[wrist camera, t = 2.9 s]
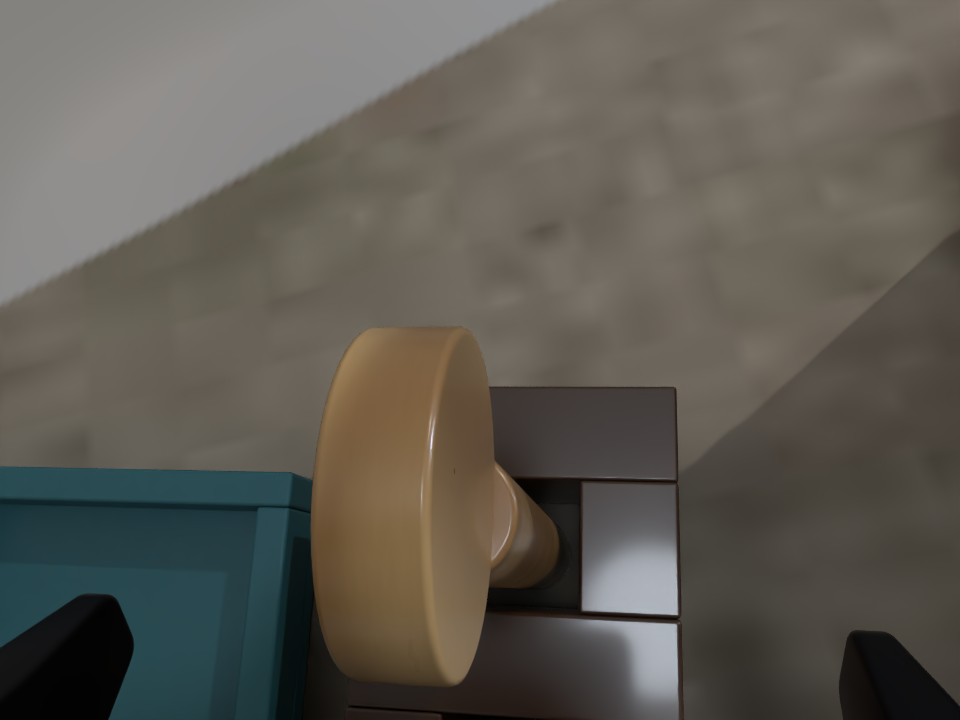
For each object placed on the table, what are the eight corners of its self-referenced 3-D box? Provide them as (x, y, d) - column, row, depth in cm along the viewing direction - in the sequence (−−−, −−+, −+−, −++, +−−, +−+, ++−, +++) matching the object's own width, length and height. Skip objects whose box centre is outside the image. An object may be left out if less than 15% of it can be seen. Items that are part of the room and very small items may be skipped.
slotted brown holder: (673, 915, 17) (690, 1023, 13) (393, 885, 18) (323, 975, 14) (664, 430, 20) (676, 385, 16) (421, 428, 21) (370, 385, 17)
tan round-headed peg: (570, 631, 19) (459, 715, 6) (501, 627, 19) (249, 701, 6) (572, 483, 20) (478, 272, 7) (506, 481, 20) (296, 276, 7)
